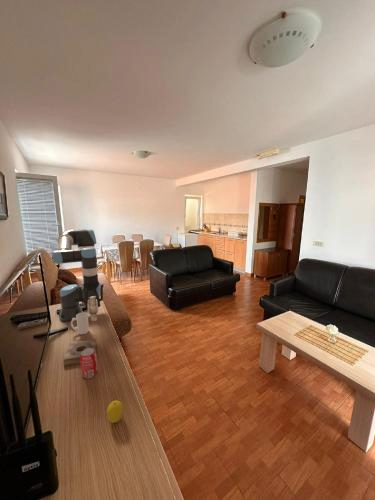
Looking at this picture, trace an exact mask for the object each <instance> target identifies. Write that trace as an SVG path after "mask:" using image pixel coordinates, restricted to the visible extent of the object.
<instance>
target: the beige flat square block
mask: <svg viewBox="0 0 375 500" xmlns="http://www.w3.org/2000/svg"><path fill="white" fill-rule="evenodd" d="M97 344H98V343H97V338H94V339H89V340H83V341H79V342H77V341H76V342H71V343H69V344H68V346H67V348H66V351H65V354H64V357H63V359H62V360H63V361H62V363H63V367H68V366H71V365H76V364H80V355H81V352H82V351H83V350H84V349H86V348H94V350H95V352H96V351H97V346H98V345H97ZM96 353H97V352H96Z"/></svg>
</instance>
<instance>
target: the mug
mask: <svg viewBox="0 0 375 500" xmlns="http://www.w3.org/2000/svg"><path fill="white" fill-rule="evenodd" d="M75 321H76V325H77V326H74V324H73V323H74V322H75ZM70 326H71V328H72V330H73V331H77V334H78V335H85V334H88V332H89V331H90V330H89V329H90V327H89V314H88V311H87V312H86V311H85V312H82V313H79V314H77V315H76V318H72V321H70Z"/></svg>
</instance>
